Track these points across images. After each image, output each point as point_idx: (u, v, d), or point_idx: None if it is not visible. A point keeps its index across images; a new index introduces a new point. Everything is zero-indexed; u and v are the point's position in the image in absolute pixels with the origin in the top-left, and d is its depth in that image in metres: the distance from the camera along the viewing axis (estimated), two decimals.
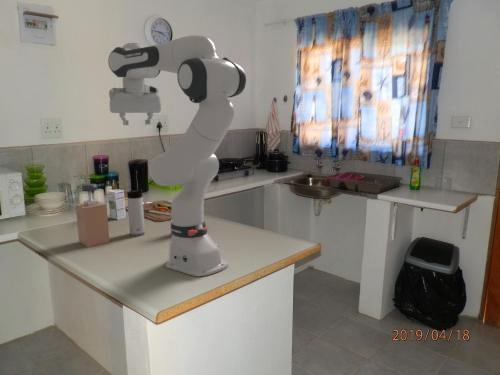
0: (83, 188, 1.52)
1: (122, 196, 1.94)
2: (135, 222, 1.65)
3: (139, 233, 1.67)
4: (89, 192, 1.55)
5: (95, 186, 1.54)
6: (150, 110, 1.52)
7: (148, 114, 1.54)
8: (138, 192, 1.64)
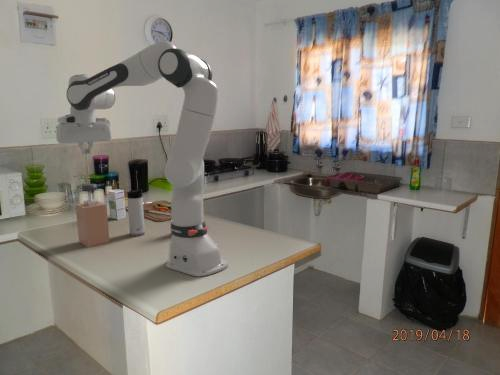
0: (83, 188, 1.52)
1: (122, 196, 1.94)
2: (135, 222, 1.65)
3: (139, 233, 1.67)
4: (89, 192, 1.55)
5: (95, 186, 1.54)
6: None
7: None
8: (138, 192, 1.64)
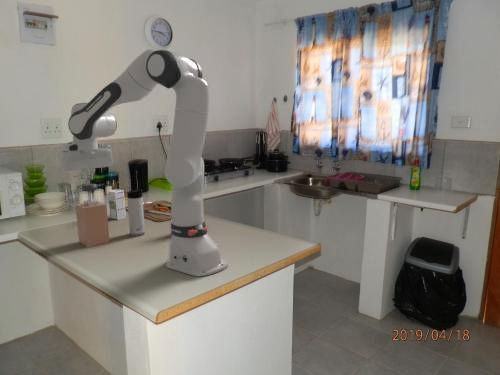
0: (83, 188, 1.52)
1: (122, 196, 1.94)
2: (135, 222, 1.65)
3: (139, 233, 1.67)
4: (89, 192, 1.55)
5: (95, 186, 1.54)
6: None
7: None
8: (138, 192, 1.64)
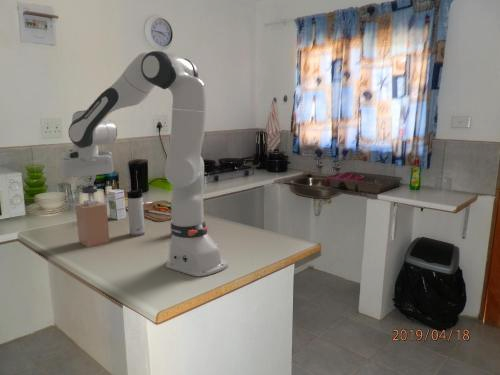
0: (83, 190, 1.53)
1: (122, 196, 1.94)
2: (135, 222, 1.65)
3: (139, 233, 1.67)
4: (89, 194, 1.55)
5: (95, 188, 1.54)
6: None
7: None
8: (138, 192, 1.64)
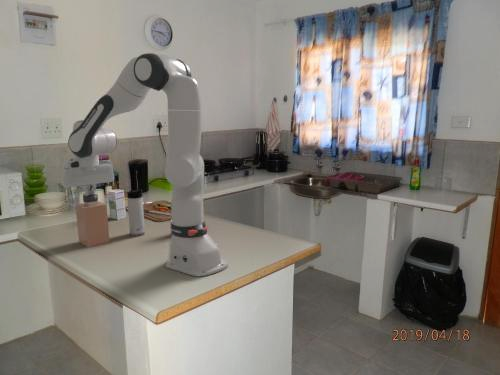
0: (84, 199, 1.53)
1: (122, 196, 1.94)
2: (135, 222, 1.65)
3: (139, 233, 1.67)
4: None
5: (96, 196, 1.55)
6: None
7: None
8: (138, 192, 1.64)
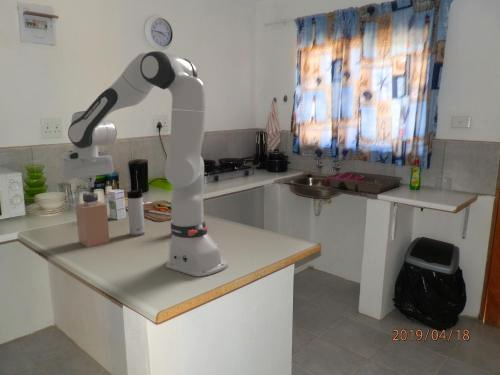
0: (84, 198, 1.53)
1: (122, 196, 1.94)
2: (135, 222, 1.65)
3: (139, 233, 1.67)
4: None
5: (96, 196, 1.55)
6: None
7: None
8: (138, 192, 1.64)
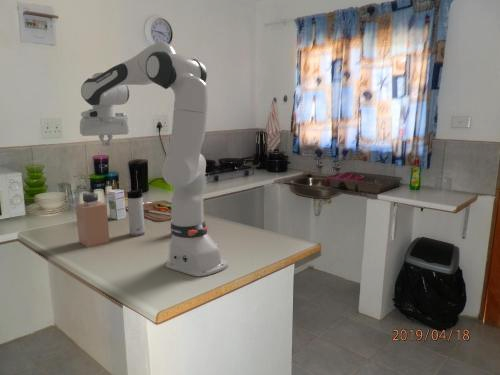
0: (84, 198, 1.53)
1: (122, 196, 1.94)
2: (135, 222, 1.65)
3: (139, 233, 1.67)
4: None
5: (96, 196, 1.55)
6: None
7: None
8: (138, 192, 1.64)
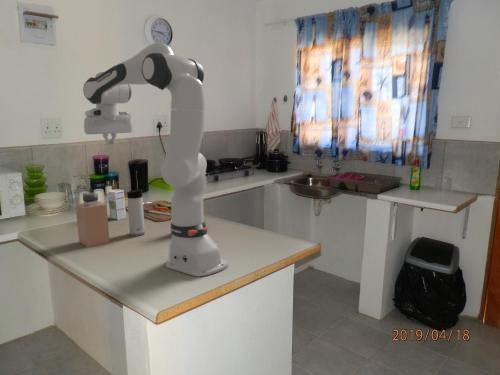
0: (84, 198, 1.53)
1: (122, 196, 1.94)
2: (135, 222, 1.65)
3: (139, 233, 1.67)
4: None
5: (96, 196, 1.55)
6: None
7: None
8: (138, 192, 1.64)
